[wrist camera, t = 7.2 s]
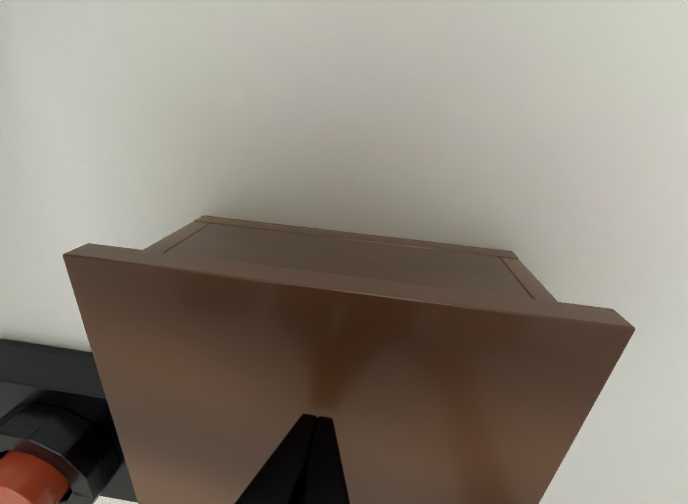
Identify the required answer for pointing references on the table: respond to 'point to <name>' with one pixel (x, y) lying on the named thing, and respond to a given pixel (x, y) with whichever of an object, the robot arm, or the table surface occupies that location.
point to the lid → (336, 377)
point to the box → (356, 256)
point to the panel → (62, 419)
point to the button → (30, 480)
